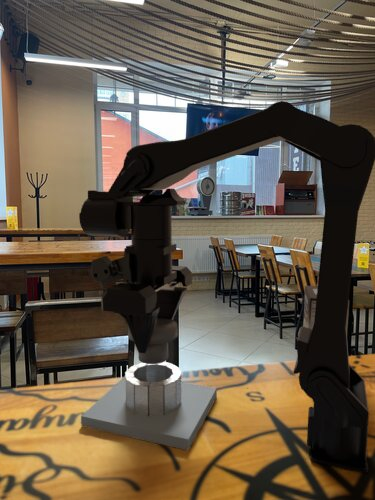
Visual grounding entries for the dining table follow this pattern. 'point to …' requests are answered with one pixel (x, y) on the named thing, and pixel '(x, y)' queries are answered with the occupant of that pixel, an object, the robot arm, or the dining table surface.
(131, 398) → the faceted ring
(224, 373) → the dining table surface
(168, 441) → the mount plate
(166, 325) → the knob
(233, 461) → the dining table surface
